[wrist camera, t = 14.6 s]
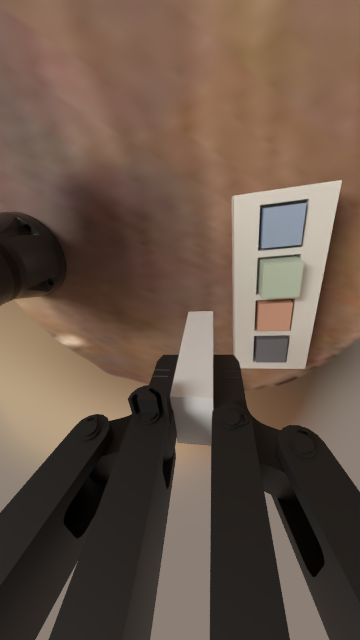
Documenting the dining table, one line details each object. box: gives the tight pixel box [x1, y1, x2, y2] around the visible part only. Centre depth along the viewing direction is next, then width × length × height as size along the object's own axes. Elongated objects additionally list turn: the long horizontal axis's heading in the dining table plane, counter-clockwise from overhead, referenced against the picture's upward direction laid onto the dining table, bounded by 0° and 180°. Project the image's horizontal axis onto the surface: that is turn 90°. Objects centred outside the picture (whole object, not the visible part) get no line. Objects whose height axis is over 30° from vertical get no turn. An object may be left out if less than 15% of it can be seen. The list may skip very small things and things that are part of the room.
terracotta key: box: [255, 299, 293, 331], centre depth 34 cm, size 5×5×3 cm
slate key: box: [258, 203, 307, 248], centre depth 28 cm, size 5×5×3 cm
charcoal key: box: [253, 335, 288, 363], centre depth 37 cm, size 5×5×3 cm
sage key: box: [258, 256, 304, 299], centre depth 29 cm, size 5×5×3 cm
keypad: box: [232, 180, 342, 369], centre depth 34 cm, size 12×28×5 cm, turn 7°
